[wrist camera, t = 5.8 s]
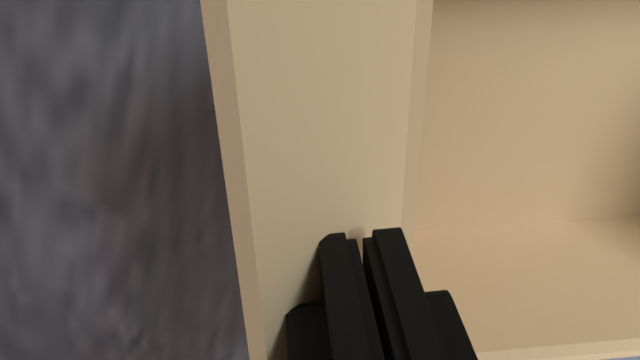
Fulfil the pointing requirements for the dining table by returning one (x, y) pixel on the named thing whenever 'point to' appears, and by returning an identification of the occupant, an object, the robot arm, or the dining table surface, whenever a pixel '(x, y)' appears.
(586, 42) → the carton
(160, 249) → the dining table surface
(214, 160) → the dining table surface
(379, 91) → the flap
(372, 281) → the robot arm
